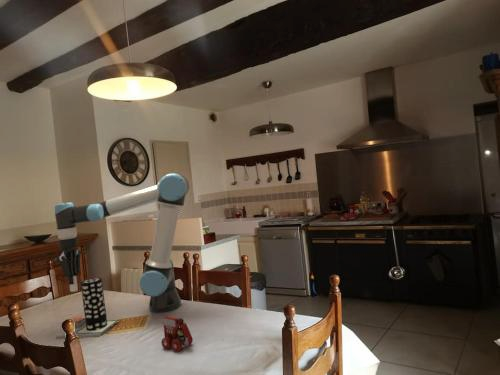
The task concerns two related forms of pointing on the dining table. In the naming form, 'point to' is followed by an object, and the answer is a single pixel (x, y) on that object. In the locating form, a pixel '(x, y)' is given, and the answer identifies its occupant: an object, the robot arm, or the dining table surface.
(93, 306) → the white-spotted black cylinder
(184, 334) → the toy fire truck
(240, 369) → the dining table surface
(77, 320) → the button
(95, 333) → the picture board
